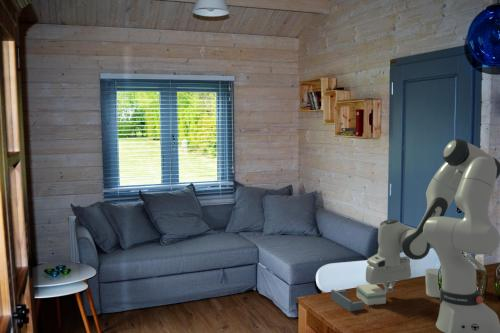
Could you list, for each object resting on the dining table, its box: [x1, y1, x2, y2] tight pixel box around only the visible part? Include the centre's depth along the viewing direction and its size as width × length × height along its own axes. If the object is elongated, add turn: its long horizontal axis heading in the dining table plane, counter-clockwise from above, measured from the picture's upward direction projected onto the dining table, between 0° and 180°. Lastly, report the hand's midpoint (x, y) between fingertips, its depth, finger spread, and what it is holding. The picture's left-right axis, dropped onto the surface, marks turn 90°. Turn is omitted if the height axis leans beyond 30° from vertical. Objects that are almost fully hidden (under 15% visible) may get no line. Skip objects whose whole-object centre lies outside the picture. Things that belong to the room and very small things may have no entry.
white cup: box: [424, 268, 440, 299], centre depth 205 cm, size 8×8×10 cm
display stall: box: [330, 289, 365, 313], centre depth 197 cm, size 6×14×4 cm, turn 21°
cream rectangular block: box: [355, 283, 387, 306], centre depth 201 cm, size 8×10×5 cm
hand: (388, 291), depth 204 cm, fingers closed
